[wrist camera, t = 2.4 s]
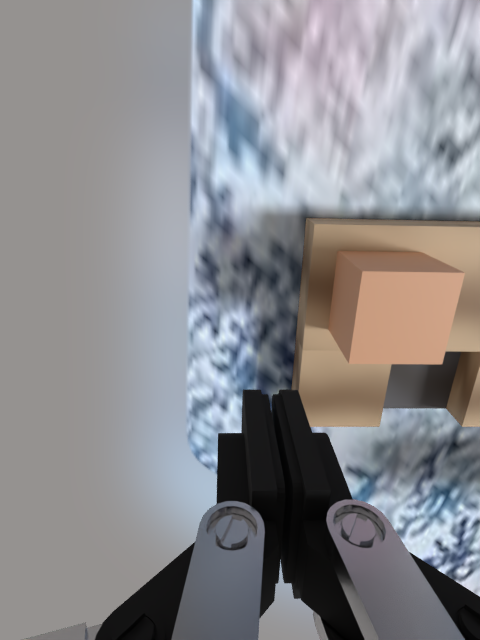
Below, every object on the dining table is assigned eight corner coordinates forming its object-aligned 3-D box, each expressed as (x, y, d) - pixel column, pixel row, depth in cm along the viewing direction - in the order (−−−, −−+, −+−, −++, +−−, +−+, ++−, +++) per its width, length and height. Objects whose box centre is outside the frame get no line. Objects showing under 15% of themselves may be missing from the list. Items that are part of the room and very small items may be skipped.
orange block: (337, 250, 23) (362, 271, 18) (421, 252, 23) (465, 272, 19) (328, 329, 25) (348, 364, 20) (406, 330, 25) (442, 364, 21)
